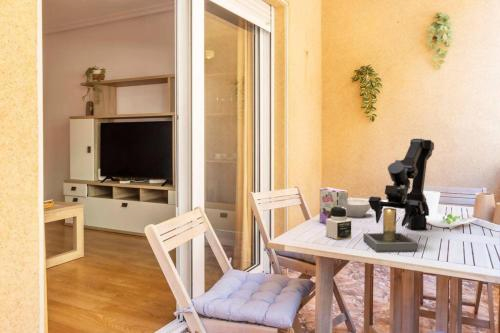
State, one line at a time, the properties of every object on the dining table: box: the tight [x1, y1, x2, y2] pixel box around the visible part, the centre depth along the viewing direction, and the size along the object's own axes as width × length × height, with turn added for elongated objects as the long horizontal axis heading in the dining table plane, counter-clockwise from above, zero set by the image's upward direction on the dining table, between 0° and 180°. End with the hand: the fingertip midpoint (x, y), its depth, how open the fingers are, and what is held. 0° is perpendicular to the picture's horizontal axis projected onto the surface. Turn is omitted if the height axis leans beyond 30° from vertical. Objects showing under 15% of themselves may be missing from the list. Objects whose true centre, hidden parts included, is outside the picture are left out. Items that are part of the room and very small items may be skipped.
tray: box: [363, 232, 419, 253], centre depth 142 cm, size 14×14×3 cm
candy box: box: [319, 186, 349, 225], centre depth 177 cm, size 14×6×16 cm, turn 24°
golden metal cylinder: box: [382, 207, 397, 243], centre depth 141 cm, size 4×4×13 cm
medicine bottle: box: [325, 207, 352, 241], centre depth 155 cm, size 7×7×12 cm
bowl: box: [347, 198, 371, 218], centre depth 197 cm, size 16×16×7 cm
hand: (389, 224), depth 141 cm, fingers open, 9 cm apart
